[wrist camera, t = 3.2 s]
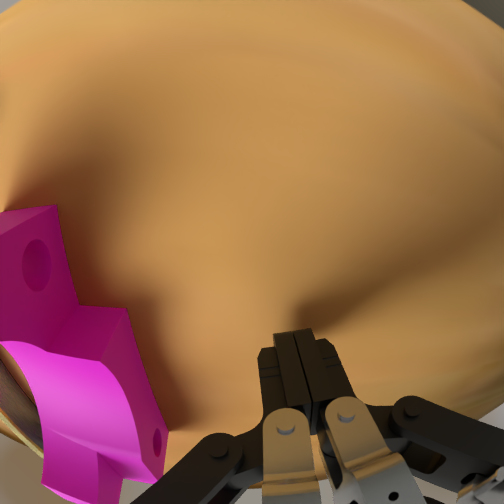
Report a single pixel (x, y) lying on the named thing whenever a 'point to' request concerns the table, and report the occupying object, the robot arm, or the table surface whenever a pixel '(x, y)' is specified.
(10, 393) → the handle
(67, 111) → the table surface
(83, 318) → the toy block
